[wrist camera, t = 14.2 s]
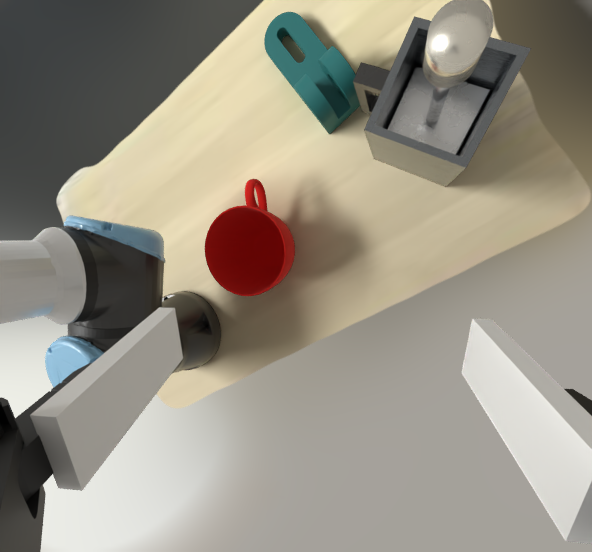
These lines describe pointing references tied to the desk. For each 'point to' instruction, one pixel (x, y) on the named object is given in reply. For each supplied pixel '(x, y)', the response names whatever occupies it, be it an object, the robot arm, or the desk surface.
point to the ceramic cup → (249, 246)
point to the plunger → (446, 78)
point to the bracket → (313, 70)
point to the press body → (392, 85)
